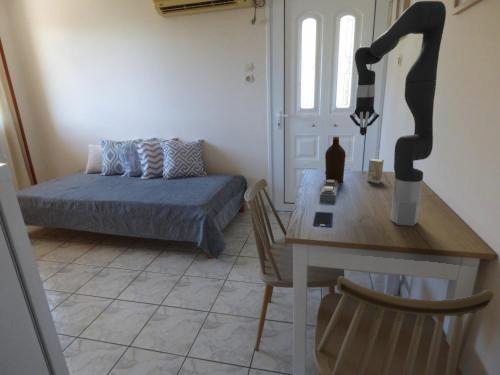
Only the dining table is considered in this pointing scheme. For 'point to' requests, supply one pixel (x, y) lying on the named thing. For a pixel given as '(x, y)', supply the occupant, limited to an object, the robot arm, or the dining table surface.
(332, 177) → the olive oil
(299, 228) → the dining table surface
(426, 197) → the dining table surface
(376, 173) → the skincare box
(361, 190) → the dining table surface
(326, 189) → the near switch
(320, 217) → the cell phone
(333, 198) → the switch panel
